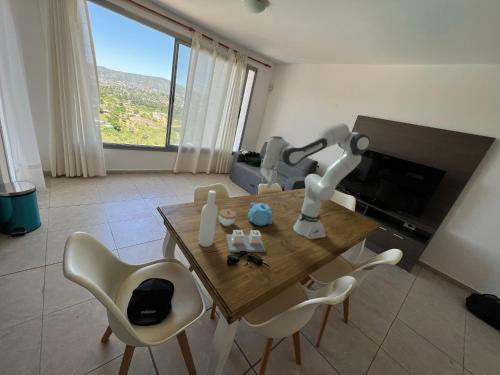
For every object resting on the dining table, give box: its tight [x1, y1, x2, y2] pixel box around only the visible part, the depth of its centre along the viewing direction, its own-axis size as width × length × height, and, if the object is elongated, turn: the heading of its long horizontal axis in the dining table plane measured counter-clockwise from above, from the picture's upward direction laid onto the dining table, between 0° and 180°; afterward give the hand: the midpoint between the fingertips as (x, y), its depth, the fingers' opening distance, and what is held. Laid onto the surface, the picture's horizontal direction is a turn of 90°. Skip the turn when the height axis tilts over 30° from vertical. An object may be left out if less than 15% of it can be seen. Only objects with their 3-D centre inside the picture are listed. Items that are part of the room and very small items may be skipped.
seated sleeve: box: [231, 229, 244, 245], centre depth 113 cm, size 6×6×6 cm
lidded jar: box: [218, 208, 237, 227], centre depth 129 cm, size 11×11×9 cm
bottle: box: [197, 190, 219, 248], centre depth 105 cm, size 8×8×30 cm
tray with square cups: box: [225, 230, 266, 253], centre depth 114 cm, size 20×14×8 cm
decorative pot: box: [247, 202, 274, 227], centre depth 139 cm, size 16×16×14 cm
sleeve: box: [248, 229, 262, 245], centre depth 116 cm, size 6×6×6 cm
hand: (265, 184), depth 127 cm, fingers open, 8 cm apart
